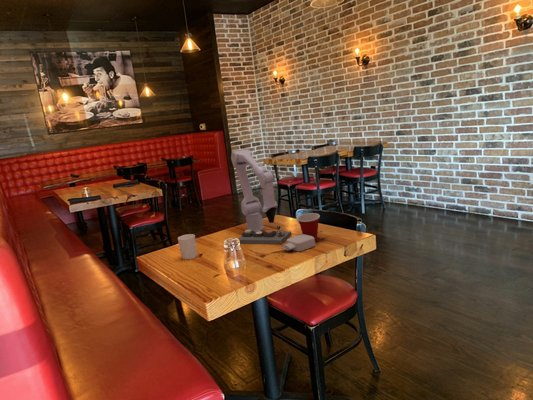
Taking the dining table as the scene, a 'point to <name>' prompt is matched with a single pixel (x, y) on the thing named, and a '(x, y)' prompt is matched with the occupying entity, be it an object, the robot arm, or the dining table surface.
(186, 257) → the white cup
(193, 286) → the dining table surface
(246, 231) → the button sage
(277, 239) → the control panel
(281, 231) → the toggle lever
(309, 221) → the plastic cup
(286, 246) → the white bottle
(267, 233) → the button terracotta
